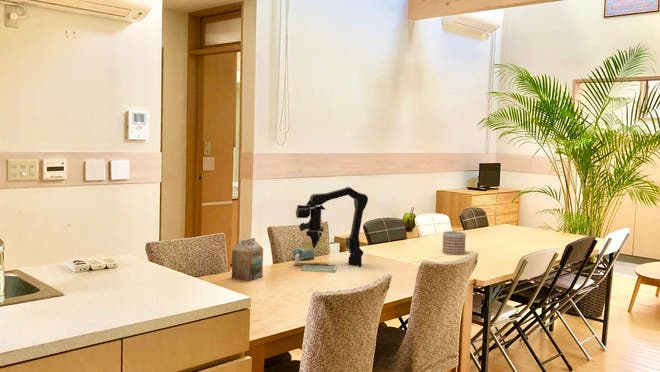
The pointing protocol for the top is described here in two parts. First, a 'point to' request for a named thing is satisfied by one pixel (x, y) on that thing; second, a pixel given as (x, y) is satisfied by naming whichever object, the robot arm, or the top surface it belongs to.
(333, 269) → the tray
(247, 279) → the milk carton
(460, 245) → the planter
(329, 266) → the holder board
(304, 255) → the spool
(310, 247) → the yellow cylinder
